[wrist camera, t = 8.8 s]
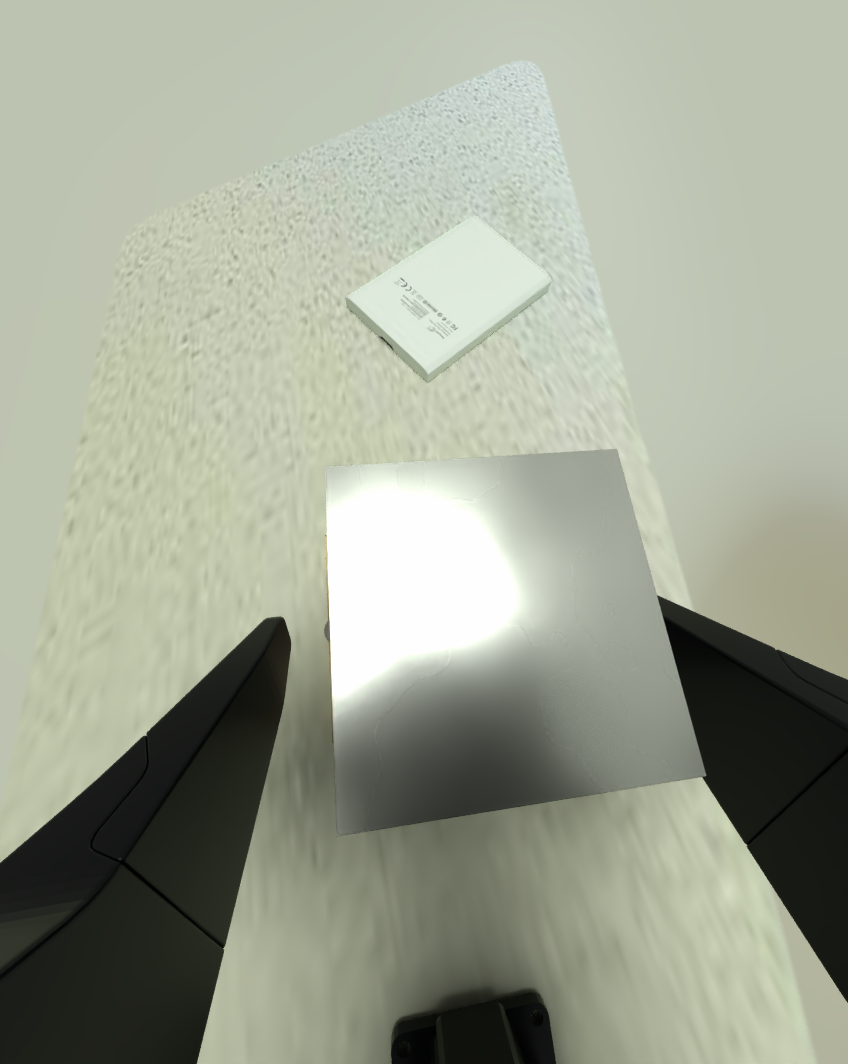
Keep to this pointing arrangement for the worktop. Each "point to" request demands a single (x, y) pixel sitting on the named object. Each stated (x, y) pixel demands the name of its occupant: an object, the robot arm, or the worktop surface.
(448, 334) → the external hard drive
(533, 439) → the worktop surface
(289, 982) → the worktop surface
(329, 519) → the tower
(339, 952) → the worktop surface
